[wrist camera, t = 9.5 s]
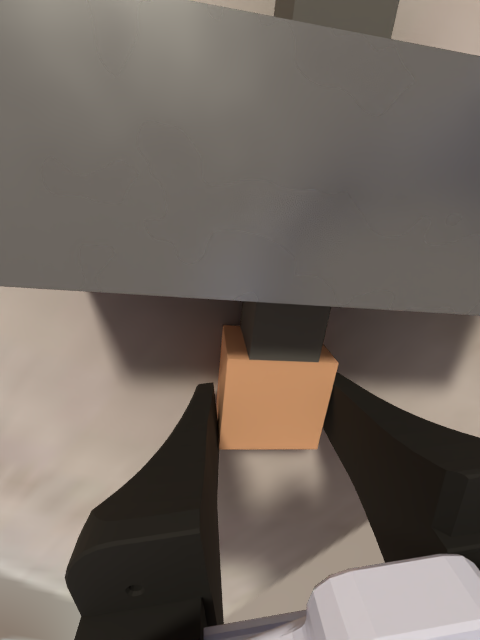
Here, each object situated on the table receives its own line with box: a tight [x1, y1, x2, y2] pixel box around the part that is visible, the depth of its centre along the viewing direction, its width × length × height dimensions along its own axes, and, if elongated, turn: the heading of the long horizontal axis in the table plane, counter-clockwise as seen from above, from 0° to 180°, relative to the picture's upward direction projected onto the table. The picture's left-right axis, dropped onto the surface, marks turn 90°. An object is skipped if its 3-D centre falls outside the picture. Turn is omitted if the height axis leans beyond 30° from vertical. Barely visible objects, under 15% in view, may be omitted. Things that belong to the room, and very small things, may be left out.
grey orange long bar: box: [217, 0, 399, 449], centre depth 10 cm, size 4×19×3 cm, turn 174°
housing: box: [0, 0, 480, 316], centre depth 9 cm, size 16×5×6 cm, turn 85°
